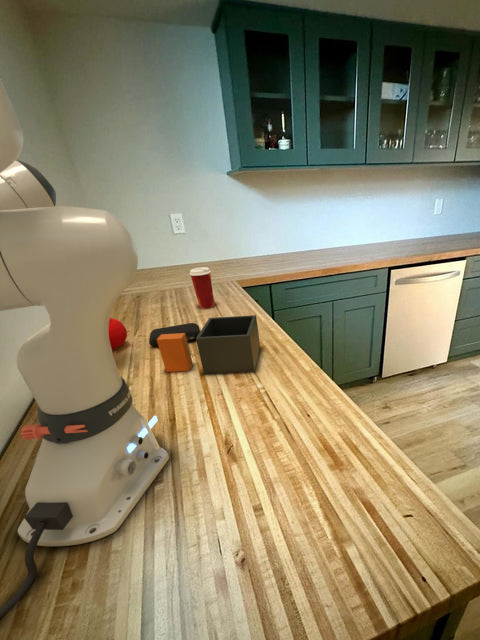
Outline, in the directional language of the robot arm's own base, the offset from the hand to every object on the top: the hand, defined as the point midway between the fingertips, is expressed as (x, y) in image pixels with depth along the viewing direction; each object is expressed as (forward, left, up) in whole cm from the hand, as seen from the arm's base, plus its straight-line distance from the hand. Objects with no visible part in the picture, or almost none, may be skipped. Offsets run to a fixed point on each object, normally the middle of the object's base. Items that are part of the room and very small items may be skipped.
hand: (105, 301), depth 77 cm
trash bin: (+3, -26, -19) cm, 32 cm away
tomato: (+15, +12, -19) cm, 27 cm away
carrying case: (+19, -6, -19) cm, 27 cm away
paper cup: (+50, -8, -19) cm, 54 cm away
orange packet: (0, -13, -19) cm, 23 cm away
